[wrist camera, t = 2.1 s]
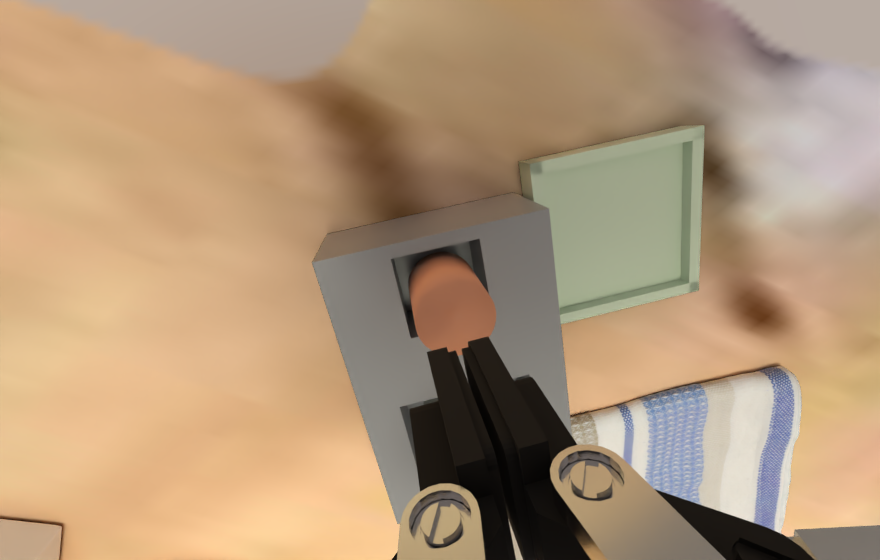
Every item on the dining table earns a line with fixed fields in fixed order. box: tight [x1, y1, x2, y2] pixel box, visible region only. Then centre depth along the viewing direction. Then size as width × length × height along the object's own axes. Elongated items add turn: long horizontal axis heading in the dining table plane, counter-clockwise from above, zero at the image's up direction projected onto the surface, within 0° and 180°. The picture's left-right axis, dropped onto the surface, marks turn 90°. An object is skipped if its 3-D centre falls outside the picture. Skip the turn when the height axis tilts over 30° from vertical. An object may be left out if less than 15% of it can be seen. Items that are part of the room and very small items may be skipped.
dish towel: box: [570, 366, 802, 533], centre depth 30 cm, size 17×24×3 cm
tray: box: [519, 125, 705, 324], centre depth 22 cm, size 9×9×2 cm
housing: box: [312, 192, 572, 524], centre depth 22 cm, size 10×15×5 cm, turn 11°
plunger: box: [408, 252, 496, 356], centre depth 17 cm, size 3×3×4 cm
